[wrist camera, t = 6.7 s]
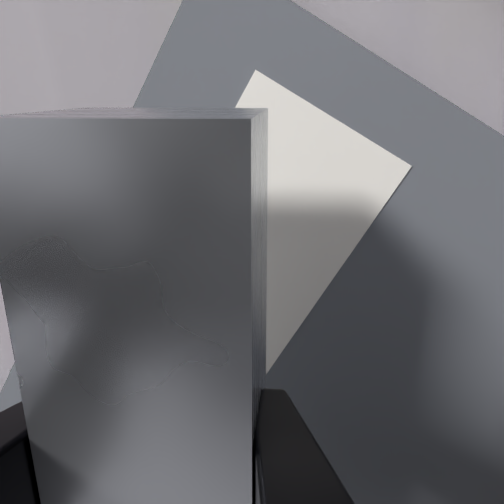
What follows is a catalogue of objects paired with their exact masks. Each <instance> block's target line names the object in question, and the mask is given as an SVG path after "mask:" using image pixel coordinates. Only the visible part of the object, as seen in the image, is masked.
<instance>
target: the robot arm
mask: <svg viewBox="0 0 504 504" xmlns="http://www.w3.org/2000/svg"><path fill="white" fill-rule="evenodd" d="M0 504H41V502H40V496H39V491H38V485H37V480H36V475H35V469H34V464H33V458H32V453H31V447H30V442H29V436H28V431H27V425H26V420H25V414H24V409H23V403H22V401H21V402H19V403H17V404H15V405H13V406H11V407H9V408H7V409H5V410H3V411H1V412H0ZM254 504H355V503H354V501H353V500H352V498H351V497H350V495H349V493H348V492H347V490H346V488H345V487H344V485H343V483H342V482H341V480H340V479H339V477H338V475H337V474H336V472H335V470H334V469H333V467H332V466H331V464H330V462H329V461H328V459H327V457H326V456H325V454H324V453H323V451H322V449H321V448H320V446H319V444H318V443H317V441H316V439H315V438H314V436H313V435H312V433H311V431H310V430H309V428H308V426H307V425H306V423H305V422H304V420H303V418H302V417H301V415H300V413H299V412H298V410H297V409H296V407H295V405H294V404H293V402H292V400H291V399H290V397H289V395H288V394H287V392H286V391H285V390H284V389H271V388H264V389H262V391H261V396H260V403H259V409H258V415H257V421H256V428H255V435H254Z"/></svg>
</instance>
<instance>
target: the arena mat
mask: <svg viewBox="0 0 504 504" xmlns="http://www.w3.org/2000/svg"><path fill="white" fill-rule="evenodd" d="M133 108H268V187H267V308H266V388H271V389H284V390H285V391H286V392H287V394H288V395H289V397H290V399H291V400H292V402H293V404H294V405H295V407H296V409H297V410H298V412H299V413H300V415H301V417H302V418H303V420H304V422H305V423H306V425H307V426H308V428H309V430H310V431H311V433H312V435H313V436H314V438H315V439H316V441H317V443H318V444H319V446H320V448H321V449H322V451H323V453H324V454H325V456H326V457H327V459H328V461H329V462H330V464H331V466H332V467H333V469H334V470H335V472H336V474H337V475H338V477H339V479H340V480H341V482H342V483H343V485H344V487H345V488H346V490H347V492H348V493H349V495H350V497H351V498H352V500H353V501H354V503H355V504H504V136H503V135H502V134H500V133H499V132H497V131H495V130H494V129H492V128H491V127H489V126H488V125H486V124H484V123H483V122H481V121H480V120H478V119H476V118H475V117H473V116H472V115H470V114H469V113H467V112H465V111H464V110H462V109H461V108H459V107H458V106H456V105H454V104H453V103H451V102H450V101H448V100H447V99H445V98H443V97H442V96H440V95H439V94H437V93H436V92H434V91H432V90H431V89H429V88H428V87H426V86H424V85H423V84H421V83H420V82H418V81H417V80H415V79H413V78H412V77H410V76H409V75H407V74H406V73H404V72H402V71H401V70H399V69H398V68H396V67H395V66H393V65H391V64H390V63H388V62H387V61H385V60H384V59H382V58H380V57H379V56H377V55H376V54H374V53H372V52H371V51H369V50H368V49H366V48H365V47H363V46H361V45H360V44H358V43H357V42H355V41H354V40H352V39H350V38H349V37H347V36H346V35H344V34H343V33H341V32H339V31H338V30H336V29H335V28H333V27H332V26H330V25H328V24H327V23H325V22H324V21H322V20H320V19H319V18H317V17H316V16H314V15H313V14H311V13H309V12H308V11H306V10H305V9H303V8H302V7H300V6H298V5H297V4H295V3H294V2H292V1H291V0H183V1H182V3H181V5H180V7H179V10H178V12H177V14H176V16H175V18H174V20H173V22H172V25H171V27H170V29H169V31H168V33H167V35H166V38H165V40H164V42H163V44H162V46H161V48H160V50H159V53H158V55H157V57H156V59H155V61H154V63H153V66H152V68H151V70H150V72H149V74H148V76H147V78H146V81H145V83H144V85H143V87H142V89H141V91H140V94H139V96H138V98H137V100H136V102H135V104H134V106H133ZM21 401H22V398H21V392H20V387H19V382H18V376H17V371H16V365H15V363H14V365H13V367H12V369H11V371H10V373H9V376H8V378H7V380H6V382H5V384H4V386H3V388H2V391H1V393H0V412H1V411H3V410H5V409H7V408H9V407H11V406H13V405H15V404H17V403H19V402H21Z"/></svg>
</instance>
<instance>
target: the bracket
mask: <svg viewBox="0 0 504 504" xmlns="http://www.w3.org/2000/svg"><path fill="white" fill-rule="evenodd" d="M267 187H268V108H79V109H67V110H56V111H44V112H33V113H22V114H10V115H0V283H1V289H2V294H3V299H4V305H5V310H6V316H7V321H8V327H9V332H10V338H11V343H12V349H13V354H14V360H15V365H16V371H17V376H18V382H19V387H20V392H21V398H22V403H23V409H24V414H25V420H26V425H27V431H28V436H29V442H30V447H31V453H32V458H33V464H34V469H35V475H36V480H37V485H38V491H39V496H40V502H41V504H254V435H255V428H256V421H257V415H258V409H259V403H260V396H261V391H262V389H264V388H266V308H267Z"/></svg>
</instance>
